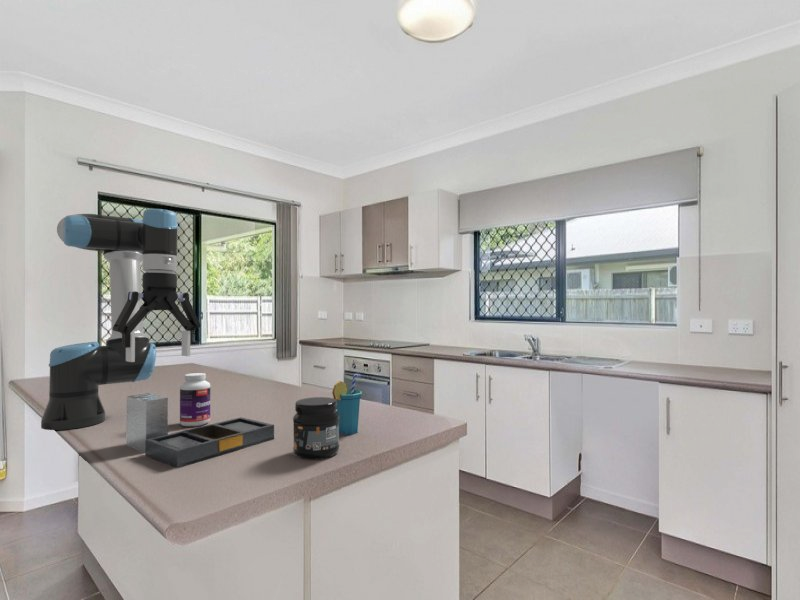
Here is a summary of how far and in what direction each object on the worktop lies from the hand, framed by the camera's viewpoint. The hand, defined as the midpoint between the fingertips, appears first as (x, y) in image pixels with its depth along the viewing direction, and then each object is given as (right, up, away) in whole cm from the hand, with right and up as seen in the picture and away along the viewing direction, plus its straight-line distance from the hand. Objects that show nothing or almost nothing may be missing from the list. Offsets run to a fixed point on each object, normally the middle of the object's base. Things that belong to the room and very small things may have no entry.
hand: (159, 358), depth 109 cm
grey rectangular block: (-2, -21, -1) cm, 21 cm away
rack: (+14, -21, -2) cm, 25 cm away
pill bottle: (0, -22, +19) cm, 29 cm away
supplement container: (+40, -21, -7) cm, 46 cm away
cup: (+46, -21, +11) cm, 52 cm away
